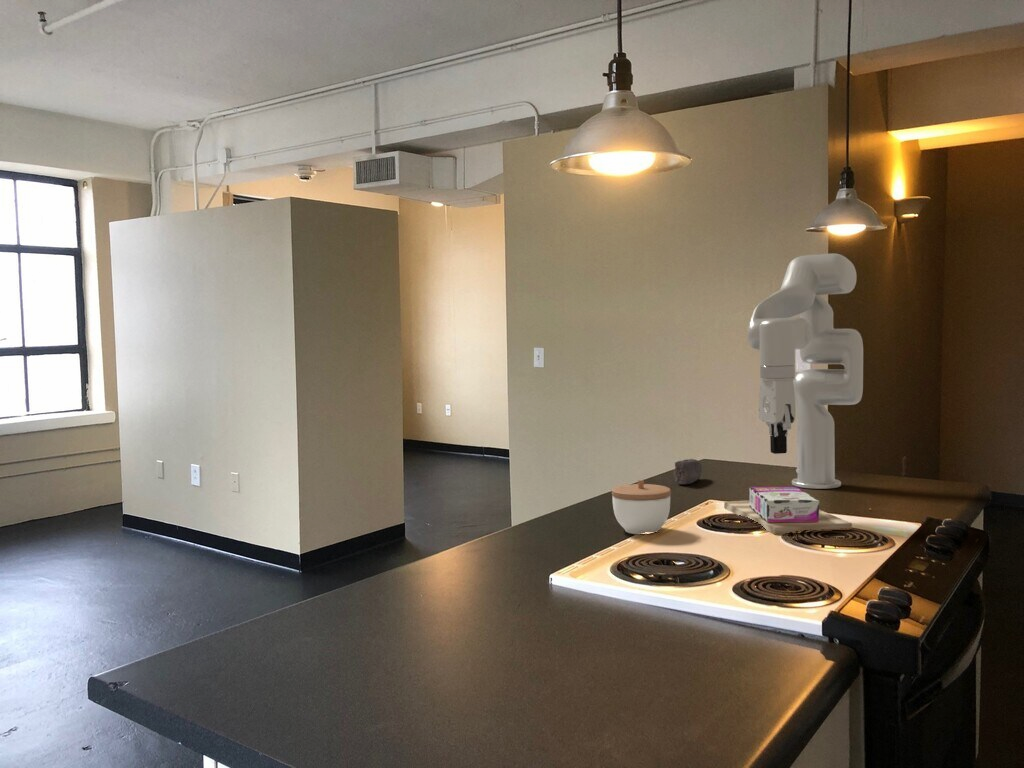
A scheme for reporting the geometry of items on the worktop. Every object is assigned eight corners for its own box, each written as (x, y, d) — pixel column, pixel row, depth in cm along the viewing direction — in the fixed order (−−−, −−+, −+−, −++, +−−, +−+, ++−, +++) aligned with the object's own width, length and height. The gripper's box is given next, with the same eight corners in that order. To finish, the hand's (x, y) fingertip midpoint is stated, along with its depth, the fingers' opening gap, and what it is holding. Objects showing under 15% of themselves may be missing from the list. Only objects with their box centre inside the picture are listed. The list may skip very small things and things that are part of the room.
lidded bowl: (680, 535, 174) (679, 483, 173) (622, 539, 171) (621, 486, 171) (659, 522, 186) (658, 474, 185) (605, 526, 184) (604, 477, 183)
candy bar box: (748, 508, 192) (765, 523, 175) (748, 486, 192) (765, 499, 175) (798, 507, 191) (819, 523, 175) (798, 486, 191) (819, 499, 174)
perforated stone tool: (692, 478, 243) (692, 454, 242) (709, 479, 239) (708, 455, 239) (669, 486, 231) (668, 461, 230) (686, 487, 228) (686, 462, 227)
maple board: (724, 507, 200) (724, 501, 199) (791, 504, 201) (791, 498, 201) (774, 534, 172) (774, 527, 172) (851, 530, 174) (851, 523, 174)
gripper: (748, 372, 196) (749, 449, 197) (775, 376, 181) (777, 459, 182) (778, 370, 197) (780, 447, 198) (808, 374, 182) (809, 457, 183)
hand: (778, 452), depth 190 cm, fingers closed
